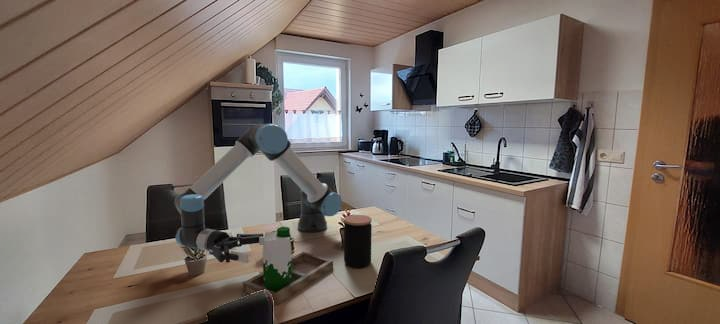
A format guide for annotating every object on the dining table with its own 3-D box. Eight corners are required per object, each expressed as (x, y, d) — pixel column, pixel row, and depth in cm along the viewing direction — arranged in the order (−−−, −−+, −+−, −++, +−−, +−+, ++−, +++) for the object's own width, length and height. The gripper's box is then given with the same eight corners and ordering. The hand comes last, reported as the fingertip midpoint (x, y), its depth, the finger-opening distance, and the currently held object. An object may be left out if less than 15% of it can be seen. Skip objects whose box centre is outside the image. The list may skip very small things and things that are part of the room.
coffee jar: (375, 261, 121) (376, 217, 119) (362, 271, 112) (363, 225, 110) (353, 254, 126) (353, 213, 124) (338, 265, 117) (338, 220, 115)
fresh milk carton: (292, 292, 98) (291, 232, 95) (263, 296, 96) (261, 235, 93) (291, 279, 106) (290, 224, 104) (264, 282, 104) (262, 226, 101)
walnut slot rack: (303, 258, 122) (303, 251, 122) (333, 268, 114) (333, 260, 114) (243, 291, 98) (243, 282, 98) (275, 305, 90) (275, 296, 90)
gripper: (239, 239, 121) (284, 247, 113) (183, 265, 98) (234, 278, 90) (238, 220, 120) (283, 227, 112) (181, 243, 97) (233, 254, 89)
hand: (262, 250), depth 101 cm, fingers open, 13 cm apart
